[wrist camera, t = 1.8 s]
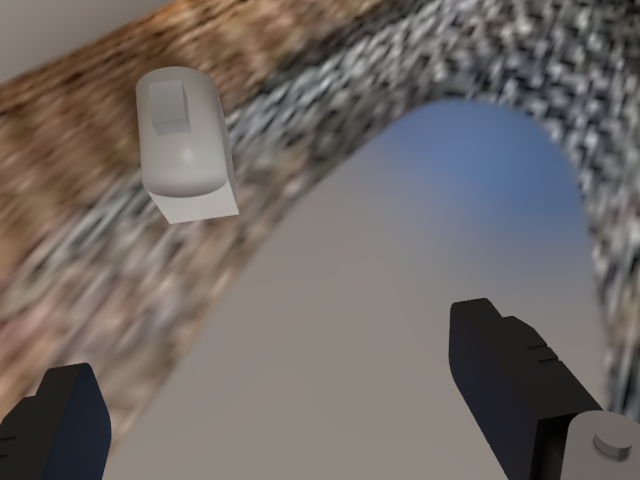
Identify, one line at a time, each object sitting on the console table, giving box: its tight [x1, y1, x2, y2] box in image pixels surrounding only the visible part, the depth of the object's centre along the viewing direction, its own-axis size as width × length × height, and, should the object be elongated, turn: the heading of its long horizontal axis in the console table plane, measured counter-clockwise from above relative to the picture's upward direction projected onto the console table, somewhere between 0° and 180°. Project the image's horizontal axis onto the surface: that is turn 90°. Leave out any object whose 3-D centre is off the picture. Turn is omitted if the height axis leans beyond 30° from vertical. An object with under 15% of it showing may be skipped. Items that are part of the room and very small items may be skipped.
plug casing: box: [136, 67, 239, 224], centre depth 30 cm, size 4×6×9 cm
